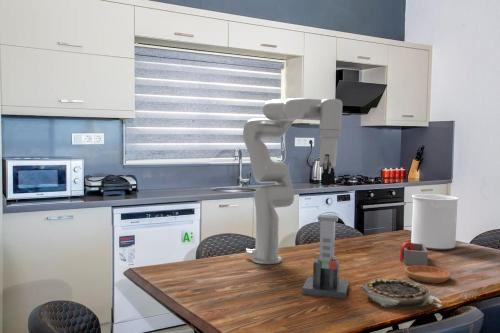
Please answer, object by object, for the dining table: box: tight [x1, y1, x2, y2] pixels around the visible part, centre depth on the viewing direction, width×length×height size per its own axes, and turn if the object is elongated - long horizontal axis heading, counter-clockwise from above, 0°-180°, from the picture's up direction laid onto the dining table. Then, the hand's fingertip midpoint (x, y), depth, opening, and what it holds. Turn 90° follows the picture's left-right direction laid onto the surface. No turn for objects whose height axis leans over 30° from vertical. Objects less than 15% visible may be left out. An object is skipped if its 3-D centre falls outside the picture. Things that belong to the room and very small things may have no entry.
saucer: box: [405, 265, 452, 284], centre depth 175 cm, size 16×16×3 cm
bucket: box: [410, 193, 460, 251], centre depth 229 cm, size 26×22×24 cm
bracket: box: [399, 241, 414, 263], centre depth 199 cm, size 12×4×8 cm, turn 121°
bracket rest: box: [402, 241, 429, 266], centre depth 199 cm, size 9×16×6 cm, turn 164°
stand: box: [301, 256, 349, 299], centre depth 158 cm, size 14×14×11 cm
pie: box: [359, 277, 443, 311], centre depth 151 cm, size 28×27×5 cm
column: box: [317, 214, 339, 269], centre depth 157 cm, size 6×5×17 cm
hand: (327, 183), depth 163 cm, fingers open, 9 cm apart
